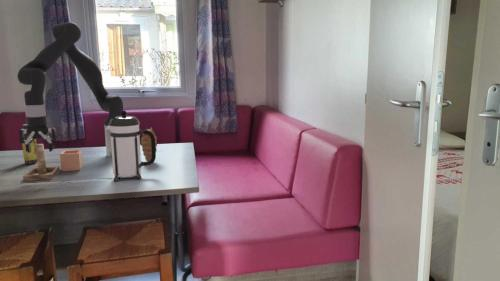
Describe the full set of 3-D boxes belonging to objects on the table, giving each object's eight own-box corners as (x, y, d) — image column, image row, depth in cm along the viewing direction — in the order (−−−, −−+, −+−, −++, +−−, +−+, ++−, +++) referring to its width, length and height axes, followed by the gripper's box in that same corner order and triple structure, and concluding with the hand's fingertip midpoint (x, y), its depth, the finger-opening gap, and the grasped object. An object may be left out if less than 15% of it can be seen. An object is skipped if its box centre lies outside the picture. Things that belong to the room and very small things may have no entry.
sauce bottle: (39, 163, 192) (34, 124, 188) (24, 165, 189) (20, 125, 185) (37, 160, 197) (33, 123, 194) (24, 162, 194) (19, 124, 190)
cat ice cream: (151, 165, 189) (150, 129, 186) (138, 163, 192) (136, 128, 188) (161, 161, 197) (159, 127, 194) (148, 159, 200) (146, 126, 196)
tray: (60, 172, 176) (59, 166, 175) (52, 181, 162) (51, 174, 162) (33, 174, 173) (33, 167, 172) (23, 183, 160) (22, 176, 159)
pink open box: (83, 167, 184) (81, 149, 183) (80, 171, 177) (78, 153, 175) (65, 168, 182) (64, 150, 181) (61, 173, 175) (60, 154, 173)
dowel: (47, 174, 169) (44, 143, 167) (45, 176, 166) (42, 145, 164) (39, 174, 169) (36, 144, 166) (37, 176, 166) (34, 145, 163)
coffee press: (127, 184, 157) (122, 113, 152) (102, 178, 166) (97, 111, 160) (157, 175, 172) (154, 109, 166) (133, 170, 180) (130, 107, 174)
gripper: (56, 113, 167) (59, 149, 171) (20, 114, 164) (24, 150, 167) (51, 115, 160) (55, 152, 163) (14, 116, 157) (19, 154, 160)
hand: (40, 151), depth 165 cm, fingers open, 8 cm apart
